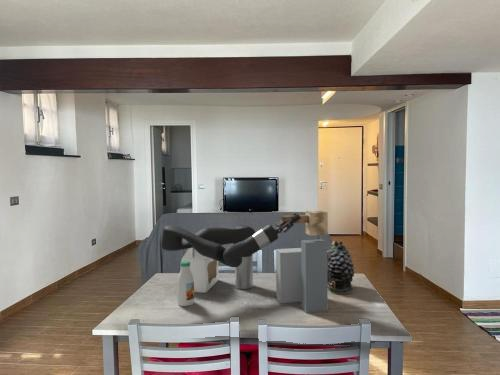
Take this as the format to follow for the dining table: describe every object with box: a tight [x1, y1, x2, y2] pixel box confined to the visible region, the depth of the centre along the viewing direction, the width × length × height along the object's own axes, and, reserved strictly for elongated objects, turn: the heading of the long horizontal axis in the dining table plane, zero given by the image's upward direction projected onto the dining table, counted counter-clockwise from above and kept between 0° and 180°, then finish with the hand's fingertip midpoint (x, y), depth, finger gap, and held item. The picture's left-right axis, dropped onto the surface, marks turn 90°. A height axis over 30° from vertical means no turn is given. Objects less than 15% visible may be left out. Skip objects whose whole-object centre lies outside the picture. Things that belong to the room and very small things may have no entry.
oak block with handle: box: [280, 210, 329, 237], centre depth 153 cm, size 20×6×10 cm, turn 100°
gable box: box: [181, 248, 219, 294], centre depth 190 cm, size 22×13×28 cm, turn 168°
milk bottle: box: [176, 261, 195, 307], centre depth 164 cm, size 8×8×20 cm
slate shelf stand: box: [275, 238, 329, 314], centre depth 162 cm, size 18×21×31 cm
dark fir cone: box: [327, 240, 355, 295], centre depth 182 cm, size 21×15×25 cm
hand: (297, 215), depth 152 cm, fingers closed on oak block with handle, 3 cm apart
